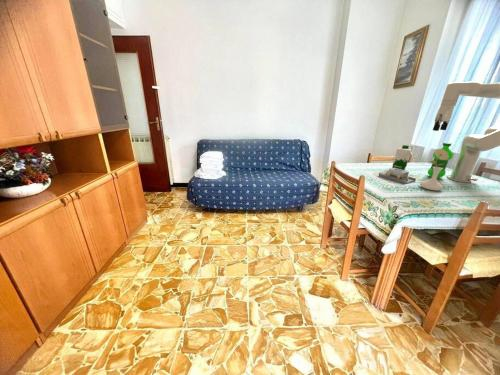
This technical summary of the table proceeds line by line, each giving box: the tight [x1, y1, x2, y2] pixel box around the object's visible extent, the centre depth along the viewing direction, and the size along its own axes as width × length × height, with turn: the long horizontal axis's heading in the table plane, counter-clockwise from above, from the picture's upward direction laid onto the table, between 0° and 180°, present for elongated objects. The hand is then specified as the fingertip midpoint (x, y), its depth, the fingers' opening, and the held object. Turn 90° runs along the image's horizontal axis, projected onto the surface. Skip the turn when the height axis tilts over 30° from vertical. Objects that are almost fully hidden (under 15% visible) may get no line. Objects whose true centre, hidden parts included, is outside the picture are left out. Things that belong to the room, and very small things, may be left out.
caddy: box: [378, 170, 417, 185], centre depth 146 cm, size 18×13×4 cm
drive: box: [388, 167, 410, 180], centre depth 146 cm, size 10×6×6 cm, turn 26°
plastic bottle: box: [427, 142, 454, 179], centre depth 147 cm, size 10×10×25 cm
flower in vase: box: [419, 148, 449, 191], centre depth 126 cm, size 13×11×25 cm
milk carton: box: [391, 144, 412, 171], centre depth 161 cm, size 9×9×20 cm
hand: (439, 130), depth 141 cm, fingers open, 9 cm apart
